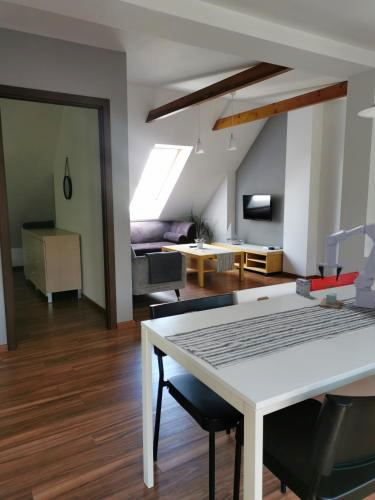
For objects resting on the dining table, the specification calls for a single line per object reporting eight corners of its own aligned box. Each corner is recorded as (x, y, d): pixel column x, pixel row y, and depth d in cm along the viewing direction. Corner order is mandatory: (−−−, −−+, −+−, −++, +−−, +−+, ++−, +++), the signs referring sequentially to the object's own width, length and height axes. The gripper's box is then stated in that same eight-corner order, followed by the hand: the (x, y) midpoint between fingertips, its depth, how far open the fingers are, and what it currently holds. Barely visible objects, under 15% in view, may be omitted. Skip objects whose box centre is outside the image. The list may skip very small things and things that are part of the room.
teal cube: (336, 302, 202) (336, 293, 201) (334, 304, 198) (335, 295, 197) (327, 300, 204) (327, 292, 204) (325, 302, 200) (326, 294, 200)
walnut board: (342, 302, 205) (342, 300, 205) (339, 308, 193) (339, 306, 193) (323, 300, 210) (323, 298, 210) (319, 306, 198) (319, 304, 198)
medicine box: (295, 292, 226) (296, 278, 225) (302, 292, 227) (302, 278, 226) (303, 296, 219) (303, 281, 217) (309, 295, 220) (310, 281, 219)
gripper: (345, 256, 211) (344, 279, 213) (318, 254, 218) (317, 277, 220) (343, 257, 205) (342, 282, 207) (316, 256, 212) (315, 279, 213)
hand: (329, 280), depth 213 cm, fingers open, 7 cm apart
